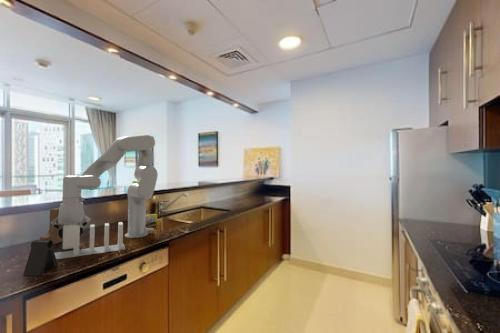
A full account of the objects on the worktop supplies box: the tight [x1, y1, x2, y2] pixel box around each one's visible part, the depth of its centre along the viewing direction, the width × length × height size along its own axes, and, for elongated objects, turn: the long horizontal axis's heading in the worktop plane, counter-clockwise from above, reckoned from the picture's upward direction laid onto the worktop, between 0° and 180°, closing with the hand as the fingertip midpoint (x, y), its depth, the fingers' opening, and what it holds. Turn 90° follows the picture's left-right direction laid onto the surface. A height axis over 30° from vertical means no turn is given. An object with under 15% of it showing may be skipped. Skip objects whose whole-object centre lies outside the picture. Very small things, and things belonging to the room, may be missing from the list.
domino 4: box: [103, 222, 110, 251], centre depth 118 cm, size 2×6×12 cm, turn 32°
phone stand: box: [22, 239, 59, 277], centre depth 93 cm, size 9×6×12 cm, turn 1°
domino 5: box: [117, 221, 124, 249], centre depth 122 cm, size 2×6×12 cm, turn 32°
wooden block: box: [39, 207, 63, 245], centre depth 126 cm, size 9×4×18 cm, turn 167°
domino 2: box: [73, 226, 81, 255], centre depth 112 cm, size 2×6×12 cm, turn 32°
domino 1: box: [62, 223, 79, 250], centre depth 119 cm, size 2×6×12 cm, turn 122°
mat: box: [54, 243, 126, 260], centre depth 115 cm, size 30×10×1 cm, turn 122°
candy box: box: [145, 213, 158, 228], centre depth 165 cm, size 16×2×8 cm, turn 137°
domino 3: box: [88, 224, 96, 253], centre depth 115 cm, size 2×6×12 cm, turn 32°
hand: (70, 236), depth 119 cm, fingers open, 6 cm apart
